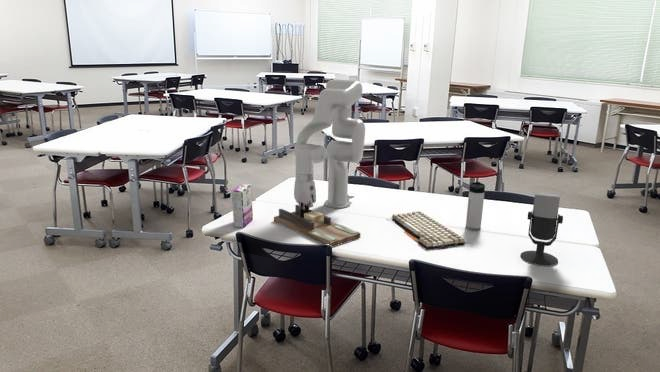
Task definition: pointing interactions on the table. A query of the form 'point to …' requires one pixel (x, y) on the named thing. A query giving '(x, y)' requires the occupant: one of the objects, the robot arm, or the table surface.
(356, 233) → the runway board
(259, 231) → the table surface
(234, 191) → the candy bar box
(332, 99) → the robot arm
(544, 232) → the microphone
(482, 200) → the travel mug
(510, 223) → the table surface
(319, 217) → the maple block
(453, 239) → the mechanical keyboard
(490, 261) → the table surface
